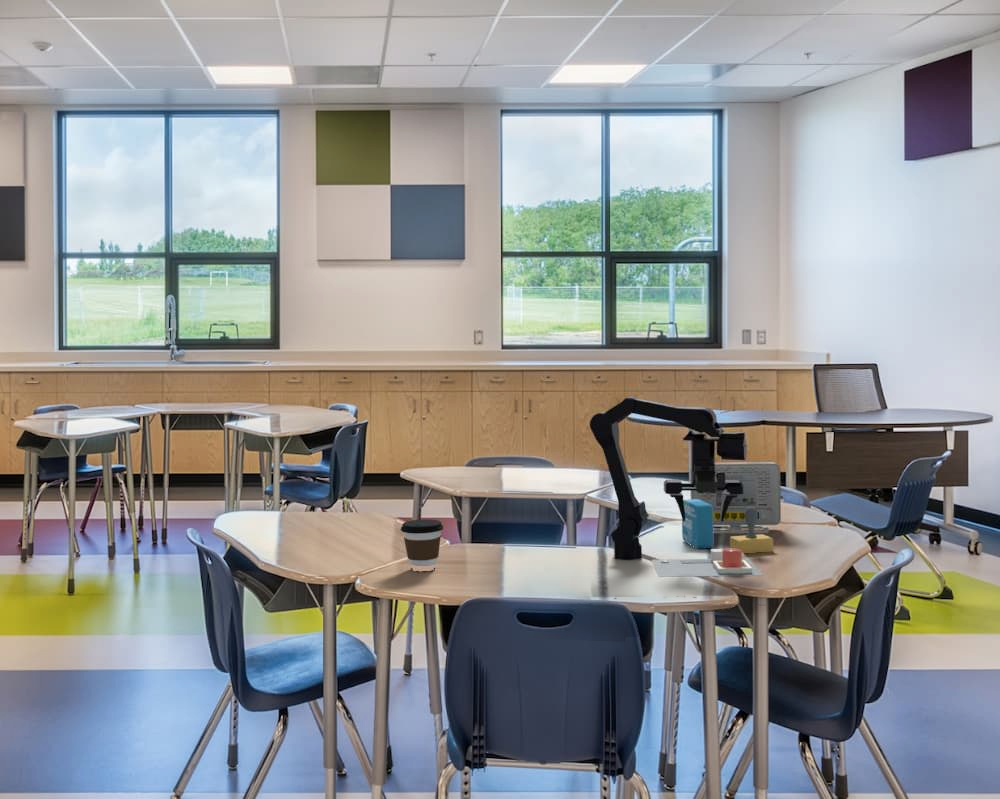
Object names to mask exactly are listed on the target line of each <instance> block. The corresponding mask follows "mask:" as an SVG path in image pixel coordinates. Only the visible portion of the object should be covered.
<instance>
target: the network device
mask: <svg viewBox="0 0 1000 799" xmlns="http://www.w3.org/2000/svg"><path fill="white" fill-rule="evenodd" d="M689 471H690V473H689V474H690V476H689V479H690V480H689V481H690V482H689V483H691V466H690V467H689ZM715 472H716V473H717V472H724V473H725V480H738V481H739V482H741V483H742V484H743V494H737V495H738V497H737V498H733V499H732V501H731V502H730V504H729V506H728V509H727V511H726V514H725V517H724V520H723V522H721V519H720V513H721V500H722V492H724V491H717V492H716V493H698V492H697V491H690V500H691V499H699V500H701V501H704V502H706V503H708V504H711V505H712V508H713V527H724V528H723V529H728V530H713V532H714V533H713V534H748V533H749V530H743V529H746V528H747V529H749V528H748V525H747V523H746V520H745V516H744V512H745V510H746V508H748V507H754V508H755V509H756V510H757V512H758V518H757V521H756V524H755V526H754V529H762V528H763V529H762V530H754V534H767V533H769V532H770V529H769V528H768V526H778V525H779V524H780V523H781V521H782V520H781V519H782V513H781V512H782V511H781V510H782V509H781V506H782V505H781V504H782V502H781V501H782V500H781V496H782V495H781V468H780V465H779V464H778V463H776V462H774V461H761V462H760V461H755V462H753V461H751V462H748V461H747V462H745V461H743V462H742V461H741V462H715ZM695 487H696V486H695ZM725 527H727V528H725ZM729 528H730V529H729Z"/></svg>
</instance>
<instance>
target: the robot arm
mask: <svg viewBox="0 0 1000 799" xmlns="http://www.w3.org/2000/svg"><path fill="white" fill-rule="evenodd" d="M632 414H634V415H640V416H645V417H649V418H654V419H658V420H663V421H669V422H673V423H676V424H679V425H681V426H683V427H684V428H687V429H689V431H688V433H687V434H686V435H685V436H684V437H682V440H683V441H687V442H688V441H690V442H691V443H690V444H691V447H690V449H691V452H690V454H691V455H690V464H691V465H690V467H691V483H690V482H682V481H681V480H680V479H665V480H664V481H663V491H664V493H665V494H666V495H669V496H670V498H674V499H675V502H676V504H677V507H678V511H679V513H680V516H681V520H682V519H683V522H685V510H684V502H683V500H684V495H683V493H682V492H683V491H684V492H685V491H689V492H691V491H697V492H698V493H716V492H717V491H724V492H722V500H721V513H720V519H721V522H723V520H724V517H725V514H726V511H727V509H728V506H729V504H730V502H731V501H732V499H733V498H737V497H738V495H737V494H743V484H742V483H741V482H739V481H738V480H725V473H724V472H717V473H716V472H715V463H716V455H717V456H718V457H721V458H720V459H721V460H722V461H723V460H724V461H725V460H727V461H746V460H747V454H748V444H747V438H746V432H743V431H740V432H725V431H724V429H723V428H722V426H721V425H720V424H719V423H718V421H717V415H716V413H715V411H714V410H713V409H712V408H709V407H702V406H701V407H697V406H694V407H693V406H689V407H688V406H687V407H685V406H676V405H670V404H666V403H661V402H656V401H652V400H646V399H642V398H637V397H635V396H629V397H626V398H624V399H623V400H622V401H621V402H619V403H618V404H616V405H614V406H613V407H611V408H610V409H608V410H605V411H602V412H599V413H596V414H594V415H593V416H591V418H590V421H589V429H590V430H591V432H592V434H593V436H594V439H595V440H596V441H597V443H598V445H599V446H600V447H601V449H602V451H603V455H604V458H605V461H606V464H607V468H608V472H609V474H610V475H609V476H610V478H611V482H612V485H613V488H614V491H615V494H616V498H617V502H618V505H617V506H618V507H617V508H618V509H617V510H618V514H617V515H618V517H617V518H618V524H619V526H617V528H615V529H614V530H613V531H612V532H611V533H610V535H611V538H612V542H613V553H614V554H613V556H614V560H622V561H623V560H624V561H631V560H633V561H634V560H639V559H642V558H643V556H642V552H643V551H642V549H643V548H642V547H643V546H642V544H641V543H640V539H639V536H640V533H641V532H642V531H643V530H644V529H645V528H646V527H647V524H648V518H649V516H650V515H649V513H648V512H647V509H646V503H645V500H644V501H641V502H640V501H639V500H638V499H637V498H636V496H635V492H634V490H633V487H632V483H631V480H630V476H629V473H628V469H627V466H626V463H625V459H624V457H623V453H622V449H621V446H620V426H619V424H620V422H622V421H623V420H625V419H626V418H627V417H629V416H630V415H632ZM694 431H695V432H697V433H695V432H694ZM707 435H708V436H709V437H707ZM695 486H696V487H695Z"/></svg>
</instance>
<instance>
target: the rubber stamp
mask: <svg viewBox="0 0 1000 799" xmlns="http://www.w3.org/2000/svg"><path fill="white" fill-rule="evenodd" d="M744 516H745V520H746V523H747V525H748V528H747V529H748V531H749V533H746V535H733V536H732V535H731V536H729V548H734V549H740V550H742V553H749V554H757V553H756V552H762V553H772V552H774V538H773V537H771V536H768V535H765V534H764V533H758V534H756V533H754V531H755V528H754V526H755V524H756V521H757V518H758V512H757V510H756V509H755V508H754V507H748V508H746V510H745V512H744Z"/></svg>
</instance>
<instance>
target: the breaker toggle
mask: <svg viewBox="0 0 1000 799" xmlns="http://www.w3.org/2000/svg"><path fill="white" fill-rule="evenodd" d="M723 549H724V548H710V559H711V560H712V562H713V561H722V550H723Z"/></svg>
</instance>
